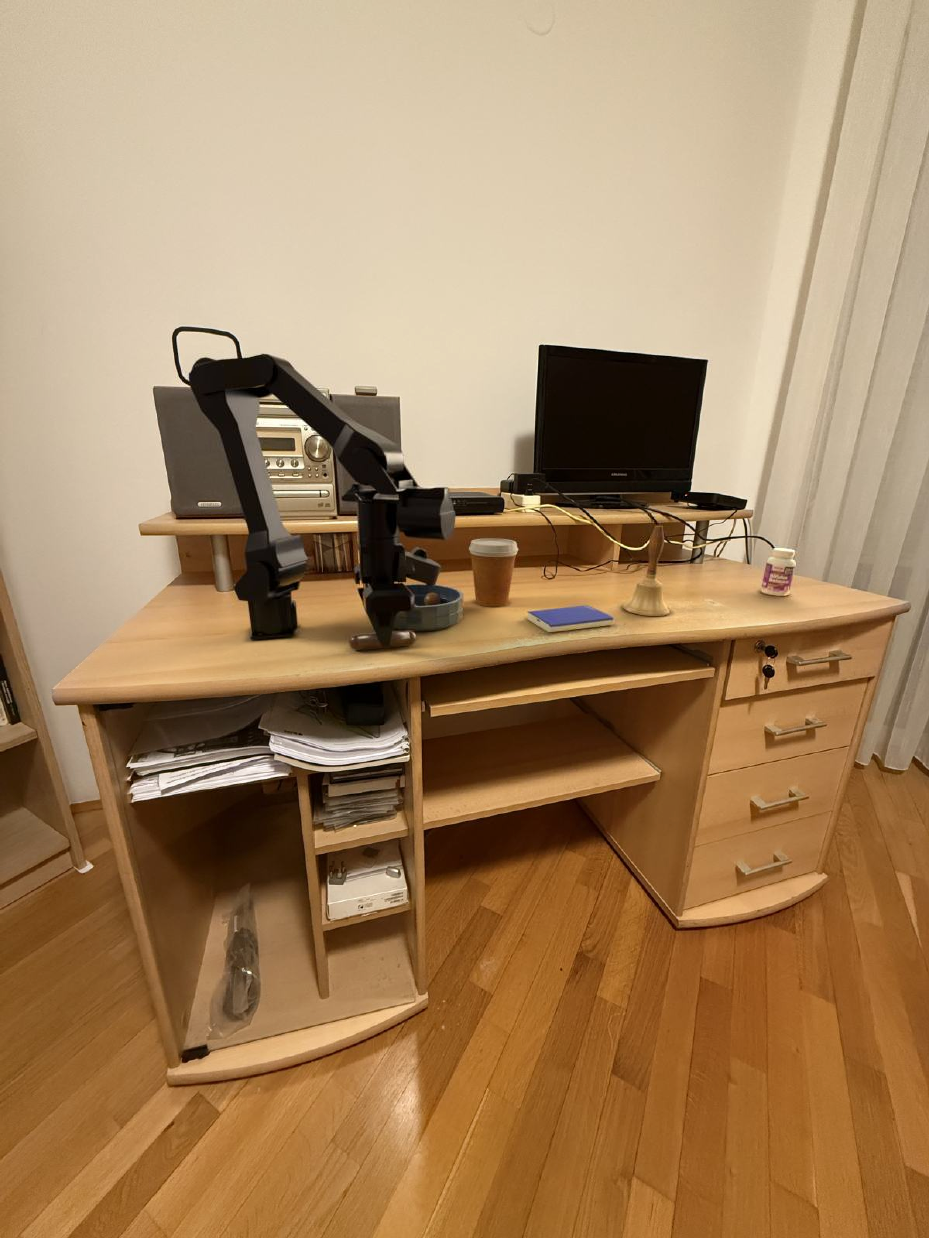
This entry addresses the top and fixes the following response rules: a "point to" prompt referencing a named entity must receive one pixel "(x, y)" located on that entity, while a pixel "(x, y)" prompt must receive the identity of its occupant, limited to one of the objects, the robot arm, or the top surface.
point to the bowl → (431, 609)
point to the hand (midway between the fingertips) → (383, 641)
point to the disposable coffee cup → (492, 569)
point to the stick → (372, 642)
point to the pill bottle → (779, 572)
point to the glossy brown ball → (432, 599)
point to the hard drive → (569, 618)
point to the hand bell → (650, 582)
